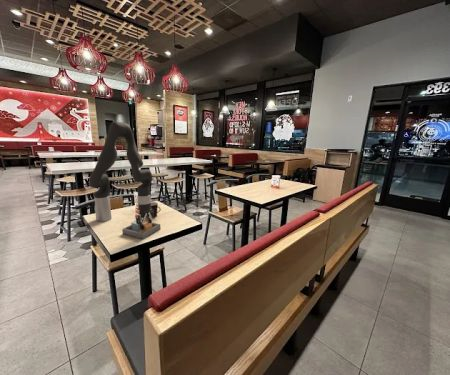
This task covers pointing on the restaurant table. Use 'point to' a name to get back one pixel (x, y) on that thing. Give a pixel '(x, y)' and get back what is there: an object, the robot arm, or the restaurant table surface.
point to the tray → (130, 232)
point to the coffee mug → (155, 208)
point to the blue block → (135, 226)
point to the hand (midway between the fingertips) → (146, 227)
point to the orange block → (146, 227)
